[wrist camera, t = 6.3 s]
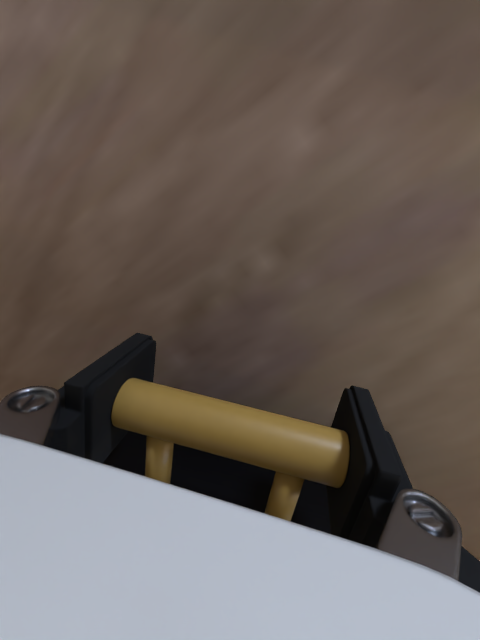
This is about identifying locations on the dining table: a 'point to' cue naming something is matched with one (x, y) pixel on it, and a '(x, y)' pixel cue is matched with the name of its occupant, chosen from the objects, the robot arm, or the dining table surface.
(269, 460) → the box
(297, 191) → the dining table surface
